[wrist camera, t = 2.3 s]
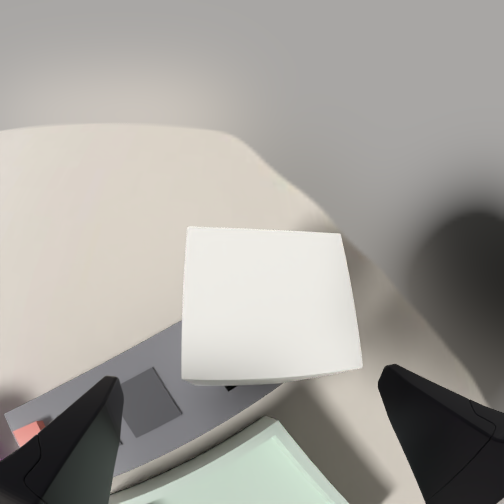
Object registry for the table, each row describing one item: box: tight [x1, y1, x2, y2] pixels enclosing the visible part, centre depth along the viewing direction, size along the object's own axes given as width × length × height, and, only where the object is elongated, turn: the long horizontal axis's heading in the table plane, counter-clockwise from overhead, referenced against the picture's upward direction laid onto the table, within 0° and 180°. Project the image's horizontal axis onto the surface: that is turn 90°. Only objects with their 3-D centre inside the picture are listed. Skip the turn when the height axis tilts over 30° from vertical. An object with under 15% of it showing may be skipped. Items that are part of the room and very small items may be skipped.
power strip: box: [4, 320, 282, 477], centre depth 14 cm, size 20×6×4 cm, turn 125°
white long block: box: [181, 227, 363, 386], centre depth 12 cm, size 4×4×11 cm
